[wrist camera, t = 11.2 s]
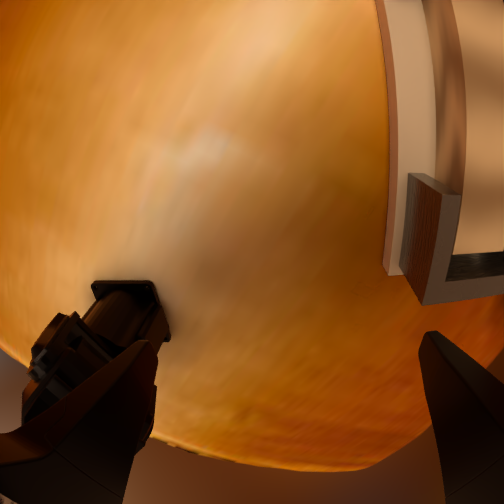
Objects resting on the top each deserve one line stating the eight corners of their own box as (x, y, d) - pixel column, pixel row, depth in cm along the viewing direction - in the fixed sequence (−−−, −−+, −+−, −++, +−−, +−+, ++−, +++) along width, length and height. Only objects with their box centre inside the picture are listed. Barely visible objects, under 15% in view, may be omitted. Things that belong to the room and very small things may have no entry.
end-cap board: (483, 257, 19) (492, 266, 18) (382, 264, 20) (388, 275, 19) (468, -45, 7) (477, -50, 5) (352, -77, 8) (356, -87, 7)
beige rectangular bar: (477, 228, 16) (503, 251, 13) (428, 229, 17) (452, 254, 14) (460, -33, 7) (485, -47, 4) (405, -51, 8) (425, -72, 5)
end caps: (488, 259, 17) (518, 290, 13) (398, 265, 18) (421, 305, 14) (473, -46, 6) (503, -62, 2) (369, -79, 7) (386, -111, 3)
